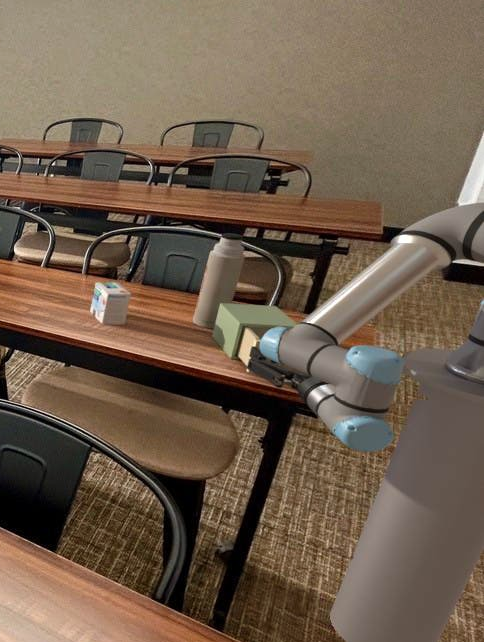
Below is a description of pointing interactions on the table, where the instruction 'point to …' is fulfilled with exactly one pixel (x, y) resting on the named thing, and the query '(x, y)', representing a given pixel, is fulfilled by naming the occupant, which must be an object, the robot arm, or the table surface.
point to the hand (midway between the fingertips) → (283, 353)
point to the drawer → (252, 344)
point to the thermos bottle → (219, 279)
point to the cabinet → (245, 323)
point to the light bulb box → (110, 303)
